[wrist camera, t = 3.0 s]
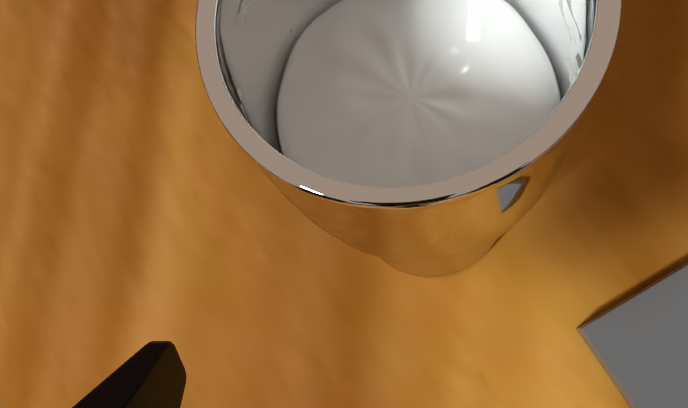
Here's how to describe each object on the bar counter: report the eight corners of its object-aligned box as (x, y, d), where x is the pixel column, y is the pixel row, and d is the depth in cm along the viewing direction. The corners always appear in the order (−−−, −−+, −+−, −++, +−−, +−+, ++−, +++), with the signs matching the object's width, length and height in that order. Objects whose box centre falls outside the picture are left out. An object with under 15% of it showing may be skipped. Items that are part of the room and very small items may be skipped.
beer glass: (476, 97, 24) (519, -261, 9) (546, 252, 22) (735, 110, 7) (323, 158, 24) (137, -85, 10) (378, 313, 22) (251, 294, 8)
